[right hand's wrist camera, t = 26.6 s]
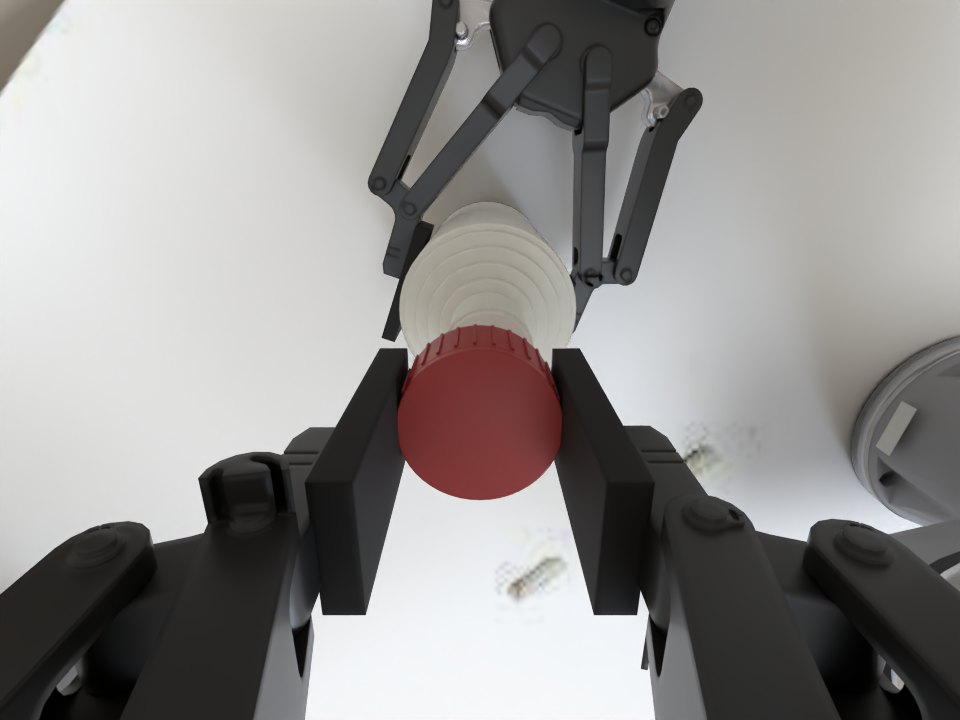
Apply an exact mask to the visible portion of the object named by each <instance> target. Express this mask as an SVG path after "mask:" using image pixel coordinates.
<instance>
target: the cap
mask: <svg viewBox="0 0 960 720" xmlns="http://www.w3.org/2000/svg"><path fill="white" fill-rule="evenodd" d="M400 394H402V397H401V400H400V403H399V406H398V410H397V417H398V434H399V446H400V449H401V452H402V454H403V456H404V458H405V459H406V461H407V463H408V464H409V466H410V467H411V468H412V470H413V471H414V472H415V473H416V474H417V475H418V476H419V477H420V478H421V479H422V480H423V481H425V482H426V483H428V484H429V485H430V486H432V487H434V488H435V489H437V490H439V491H441V492H443V493H446V494H448V495H451V496H455V497H458V498H463V499H469V500H490V499H496V498H501V497H505V496H508V495H511V494H514V493H516V492H519V491H521V490H522V489H524V488H526V487H528V486H529V485H531V484H532V483H533V482H535V481H536V480H537V479H538V478H539V477H541V476H542V475H543V474H544V473H545V471H546V470H547V469H548V468H549V467H550V465H551V464H552V462H553V460H554V459H555V457H556V455H557V453H558V450H559V448H560V444H561V429H562V408H561V405H560V397H559V394H558V391H557V389H556V386H555V382H554V379H553V376H552V373H551V371H550V368H549V365H548V363H547V361H546V362H545V361H544V360H543V358H542V357H541V355H540V352H539V350H538V349H537V348H536V349H535V348H534V347H533V346H532V345H531V344H530V343H529V342H527V339H526V338H525V337H524V338H522V337H520V336H519V335H517V334H515V333H513V332H512V331H511V330H509V329H508V330H505V329H502V328H499V327H495V326H494V325H491V326H486V325H477V324H474V326H466V327H461V328H460V327H456V329H454V330H451V331H449V332H447V333H445V334H443V333H442V334H440V336H439V337H438V338H436V339H435V340H433V341H432V342H431V343H429V342H428V343H427V344H426V347H425V349H424V350H423V351H422V352H421V353H420V355H418V354H417V355H416V357H415V360H414V363H413V366H412V369H410V368H409V370H408V373H407V376H406V379H405V381H404V384H403V387H402V390H401V392H400Z"/></svg>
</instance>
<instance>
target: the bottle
mask: <svg viewBox="0 0 960 720" xmlns="http://www.w3.org/2000/svg"><path fill="white" fill-rule="evenodd" d="M399 311H400V322H401V327H402V331H403V334H404V337H405V340H406V342H407V344H408V346H409V348H410V350H411V352H412V353H413V355H414V356H415V357H416V355H417V354H418V355H420V353H421V352H422V351H423V350H424V349H425V347H426V344H427V343H428V342H429V343H431V342H432V341H433V340H435V339H436V338H438V337H439V336H440V334H442V333H443V334H445V333H447V332H449V331H451V330H454V329H456V327H460V328H461V327H466V326H474V324H477V325H486V326H491V325H494V326H495V327H499V328H502V329H505V330H508V329H509V330H511V331H512V332H513V333H515V334H517V335H519V336H520V337H522V338H524V337H525V338H526V339H527V342H529V343H530V344H531V345H532V346H533V347H534V348H535V349H536V348H537V349H538V350H539V352H540V355H541V357H542V358H543V360H544V361H545V362H546V361H547V363H548V365H549V368H550V369H551V365H552V348H566V347H567V345H568V343H569V341H570V338H571V335H572V332H573V329H574V324H575V319H576V298H575V292H574V287H573V284H572V281H571V278H570V276H569V273H568V271H567V269H566V268H565V266H564V264H563V262H562V261H561V260H560V258H559V257H558V256H557V254H556V253H555V252H554V251H553V249H552V248H551V247H550V246H549V245H548V243H547V242H546V241H545V240H544V239H543V237H542V236H541V235H540V234H539V233H538V231H537V230H536V229H535V228H534V227H533V225H532V224H531V223H530V222H529V221H528V220H527V219H526V218H525V216H523V215H522V214H521V213H520V212H518V211H517V210H515V209H513V208H512V207H509V206H507V205H505V204H501V203H497V202H477V203H473V204H469V205H467V206H464V207H462V208H460V209H459V210H457V211H455V212H454V213H453V214H452V215H450V216H449V217H448V218H447V219H446V220H445V221H444V223H443V224H442V225H441V227H440V228H439V229H438V230H437V232H436V233H435V234H434V236H433V237H432V238H431V240H430V241H429V242H428V244H427V245H426V246H425V247H424V249H423V250H422V251H421V253H420V254H419V255H418V257H417V258H416V259H415V261H414V262H413V264H412V265H411V267H410V269H409V271H408V273H407V275H406V277H405V280H404V283H403V286H402V291H401V295H400V306H399Z"/></svg>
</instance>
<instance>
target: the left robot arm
mask: <svg viewBox="0 0 960 720" xmlns="http://www.w3.org/2000/svg"><path fill="white" fill-rule="evenodd" d="M674 1H675V0H493V1H490V0H433V1H432V12H431V22H430V33H429V41H428V43H427V45H426V47H425V50H424V52H423V54H422V57H421V59H420V61H419V64H418V66H417V68H416V70H415V73H414V75H413V77H412V80H411V82H410V84H409V87H408V89H407V91H406V94H405V96H404V98H403V100H402V103H401V105H400V107H399V110H398V112H397V114H396V117H395V119H394V121H393V123H392V126H391V128H390V130H389V133H388V135H387V137H386V140H385V142H384V144H383V146H382V149H381V151H380V153H379V156H378V158H377V160H376V163H375V165H374V167H373V169H372V172H371V174H370V176H369V179H368V187H369V189H370V191H371V192H372V193H373V194H374V195H377V196H379V197H380V198H381V199H383V200H384V201H385V202H386V203H388V204H389V205H390V206H391V207H392V209H393V210H394V213H395V223H394V227H393V230H392V233H391V237H390V240H389V244H388V247H387V251H386V254H385V258H384V261H383V271H384V274H387V275H390V276H393V277H395V278H398V279H399V282H398V286H397V289H396V292H395V295H394V299H393V302H392V305H391V309H390V312H389V315H388V318H387V322H386V325H385V328H384V332H383V335H382V338H384V339H387V340H390V341H393V342H395V340H396V338H397V336H398V334H399V332H400V330H401V329H402V327H401V322H400V311H399V306H400V295H401V291H402V286H403V283H404V280H405V277H406V275H407V273H408V271H409V269H410V267H411V265H412V264H413V262H414V261H415V259H416V258H417V257H418V255H419V254H420V253H421V251H422V250H423V249H424V247H425V246H426V245H427V244H428V242H429V241H430V237H431V234H432V231H433V228H434V225H433V224H430V223H427V222H425V221H422V218H423V214H424V213H425V211H426V210H427V209H428V208H429V206H430V205H431V204H432V203H433V202H434V200H435V199H436V198H437V197H438V196H439V194H440V193H441V192H442V191H443V190H444V188H445V187H446V186H447V185H448V184H449V182H450V181H451V180H452V179H453V178H454V176H455V175H456V174H457V173H458V171H459V170H460V169H461V168H462V167H463V165H464V164H465V163H466V162H467V161H468V159H469V158H470V157H471V156H472V155H473V153H474V152H475V151H476V150H477V149H478V147H479V146H480V145H481V144H482V143H483V141H484V140H485V139H486V138H487V137H488V135H489V134H490V133H491V132H492V131H493V129H494V128H495V127H496V126H497V125H498V123H499V122H500V121H501V120H502V119H503V118H504V117H505V115H506V114H507V113H508V112H509V111H510V109H511V108H512V107H513V106H515V107H516V110H518V111H521V112H523V113H526V114H528V115H536V116H545V117H546V118H548V119H549V120H550V121H552V122H553V123H554V124H555V125H557V126H559V127H561V128H564V129H566V130H569V131H572V130H573V152H574V182H573V250H572V272H571V274H570V275H569V276H570V278H571V281H572V284H573V287H574V292H575V298H576V319H575V324H574V329H573V332H574V331H575V330H576V327H577V325H578V323H579V321H580V318H581V316H582V314H583V311H584V309H585V307H586V305H587V302H588V300H589V298H590V296H591V293H592V292H593V290H594V289H595V288H598V287H599V286H601V285H602V284H621V285H630V284H632V283H633V282H634V281H635V279H636V277H637V274H638V271H639V268H640V265H641V261H642V258H643V255H644V251H645V248H646V245H647V242H648V238H649V235H650V232H651V228H652V225H653V222H654V219H655V215H656V212H657V209H658V205H659V202H660V199H661V195H662V192H663V189H664V186H665V182H666V179H667V176H668V172H669V169H670V166H671V163H672V159H673V156H674V153H675V149H676V146H677V143H678V140H679V139H680V137H681V136H682V134H683V133H684V131H685V130H686V129H687V127H688V126H689V124H690V123H691V121H692V120H693V118H694V117H695V115H696V114H697V112H698V111H699V109H700V108H701V105H702V101H703V97H702V94H701V92H700V91H699V90H698V89H696V88H688V89H685V90H684V89H682V88H680V87H679V86H678V85H676V84H675V83H674V82H672V81H671V80H669V79H668V78H667V77H665V76H664V75H663V74H661V73H660V72H659V71H657V68H658V43H659V38H660V35H661V32H662V30H663V28H664V25H665V23H666V20H667V18H668V15H669V13H670V11H671V8H672V6H673V3H674ZM483 30H490V34H491V38H492V42H493V46H494V50H495V54H496V58H497V62H498V66H499V70H500V74H501V76H500V77H499V78H498V80H497V81H496V82H495V83H494V85H493V86H492V87H491V88H490V89H489V91H488V92H487V93H486V95H485V96H484V98H483V99H482V101H481V102H480V103H479V104H478V106H477V107H476V108H475V109H474V111H473V112H472V113H471V114H470V116H469V117H468V118H467V119H466V121H465V122H464V123H463V124H462V126H461V127H460V128H459V129H458V130H457V132H456V133H455V134H454V135H453V137H452V138H451V139H450V140H449V142H448V143H447V144H446V145H445V147H444V148H443V149H442V150H441V151H440V153H439V154H438V155H437V156H436V158H435V159H434V160H433V161H432V163H431V164H430V165H429V166H428V168H427V169H426V170H425V171H424V173H423V174H422V175H421V176H420V177H419V179H418V180H417V181H416V182H415V184H414V185H413V186H412V187H411V189H410V188H409V187H408V186H407V185H406V184H404V183H403V182H402V181H401V180H402V178H403V176H404V174H405V171H406V169H407V167H408V165H409V163H410V160H411V158H412V156H413V154H414V152H415V149H416V147H417V145H418V143H419V141H420V139H421V136H422V134H423V132H424V130H425V128H426V125H427V123H428V121H429V119H430V117H431V114H432V112H433V110H434V108H435V106H436V103H437V101H438V99H439V97H440V95H441V93H442V90H443V88H444V86H445V84H446V82H447V79H448V77H449V75H450V73H451V70H452V68H453V65H454V62H455V58H456V55H457V50H459V51H465V50H467V49H469V48H470V47H471V46H472V44H473V42H474V39H475V37H476V35H477V34H478V33H479V32H480V31H483ZM639 92H640V93H641V94H642V95H643V97H644V100H645V106H644V109H643V112H642V121H643V123H644V124H645V125H646V126H647V128H646V130H645V132H644V134H643V136H642V138H641V141H640V144H639V147H638V150H637V154H636V157H635V161H634V164H633V168H632V171H631V175H630V179H629V182H628V186H627V189H626V193H625V196H624V200H623V204H622V207H621V211H620V214H619V218H618V221H617V225H616V229H615V232H614V236H613V239H612V243H611V247H610V250H609V254H608V257H607V258H602V254H603V225H604V196H605V168H606V150H607V147H608V142H609V119H610V113H611V112H613V111H614V110H616V109H617V108H618V107H620V106H621V105H623V104H624V103H625V102H627V101H628V100H630V99H631V98H632V97H634V96H635V95H637V94H638V93H639ZM573 332H572V333H573ZM851 455H852V462H853V467H854V470H855V473H856V475H857V477H858V479H859V480H860V482H861V484H862V485H863V486H864V487H865V489H866V490H867V491H868V492H869V493H870V494H871V495H873V496H874V497H875V498H876V499H877V500H878V501H880V502H881V503H882V504H883V505H884V506H886V507H887V508H888V509H889V510H891V511H892V512H893V513H895V514H897V515H898V516H900V517H902V518H904V519H907V520H910V521H912V522H914V523H917V524H919V525H922V526H924V527H919V528H915V529H910V530H906V531H902V532H897V533H893V534H888V535H890V536H891V537H893V538H894V539H896V540H897V541H899V542H900V543H902V544H903V545H905V546H906V547H907V548H909V549H910V550H911V551H912V552H913V553H915V554H916V555H917V556H918V557H919V558H921V559H922V560H923V561H924V562H925V563H927V564H928V565H929V566H930V567H931V568H932V569H934V570H935V571H936V572H937V573H938V574H940V575H941V576H942V577H943V578H944V579H946V580H947V581H948V582H949V583H950V584H952V585H953V586H954V587H955V588H956V589H958V590H959V591H960V337H957V338H954V339H950V340H947V341H944V342H941V343H939V344H936V345H934V346H932V347H929V348H927V349H926V350H924V351H922V352H920V353H918V354H916V355H915V356H913V357H912V358H910V359H908V360H907V361H906V362H904V363H903V364H901V365H900V366H899V367H898V368H896V369H895V370H894V371H893V372H892V373H890V374H889V375H888V376H887V377H886V378H885V379H884V380H883V381H882V382H881V384H880V385H879V386H878V387H877V388H876V389H875V390H874V392H873V393H872V395H871V396H870V397H869V399H868V400H867V402H866V403H865V405H864V407H863V409H862V411H861V413H860V415H859V417H858V419H857V422H856V425H855V428H854V432H853V437H852V444H851ZM883 673H884V674H885V675H886V676H887V678H888V679H889V680H890V681H891V682H892V683H893V684H894V685H895V686H896V687H897V688H898V689H899V690H901V689H902V688H903V685H904V682H903V681H902V680H901V679H900V678H899V677H898V675H897V674H896V673H895V672H894V671H893V670H892V669H891V667H890V666H889V665H888V664H887V663H886V664H885V667H884V669H883Z"/></svg>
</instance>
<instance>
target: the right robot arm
mask: <svg viewBox="0 0 960 720" xmlns="http://www.w3.org/2000/svg"><path fill="white" fill-rule="evenodd" d="M407 373H408V352H407V348H380V349H379V351H378V353H377V355H376V357H375V358H374V360H373V362H372V364H371V365H370V367H369V369H368V371H367V373H366V374H365V376H364V378H363V380H362V381H361V383H360V385H359V387H358V388H357V390H356V392H355V394H354V396H353V397H352V399H351V401H350V403H349V404H348V406H347V408H346V410H345V412H344V413H343V415H342V417H341V419H340V420H339V422H338V424H337V426H336V427H310V428H309V429H307V430H305V431H304V432H302V433H301V434H299V435H298V436H296V437H295V438H293V439H292V441H291V442H290V444H289V445H288V447H287V448H286V450H285V451H284V454H282V455H279V454H275V453H271V452H251V453H245V454H240V455H235V456H233V457H230V458H227V459H224V460H222V461H219V462H218V463H216V464H214V465H213V466H211V467H209V468H208V469H206V470H205V471H204V473H203V474H202V475H201V476H200V477H199V478H198V479H199V484H200V489H201V493H202V498H203V502H204V507H205V511H206V516H207V520H208V525H207V527H206V529H205V532H204V533H202V534H198V535H195V536H191V537H186V538H181V539H176V540H172V541H167V542H162V543H157V544H153V541H152V538H151V534H150V530H149V529H148V528H147V527H145V526H144V525H143V524H141V523H135V522H130V521H126V522H116V523H108V524H103V525H102V526H96V527H93V528H90V529H88V530H86V531H84V532H82V533H80V534H78V535H75V536H73V537H71V538H70V539H68V540H67V541H65V542H64V543H62V544H61V545H59V546H58V547H56V548H55V549H54V550H52V551H51V552H50V553H49V554H48V555H46V556H45V557H44V558H43V559H42V560H41V561H39V562H38V563H37V564H36V565H35V566H33V567H32V568H31V569H30V570H29V571H28V572H26V573H25V574H24V575H23V576H22V577H20V578H19V579H18V580H17V581H16V582H15V583H13V584H12V585H11V586H10V587H9V588H7V589H6V590H5V591H4V592H3V593H2V594H0V720H305V712H306V704H307V695H308V686H309V677H310V668H311V660H312V651H313V642H314V631H313V624H312V617H311V612H312V610H313V607H314V604H315V602H316V599H317V597H318V594H319V592H320V599H321V607H322V614H323V615H366V612H367V608H368V604H369V600H370V596H371V592H372V588H373V584H374V581H375V577H376V573H377V569H378V565H379V561H380V557H381V553H382V549H383V546H384V542H385V538H386V534H387V530H388V526H389V522H390V518H391V514H392V511H393V507H394V503H395V499H396V495H397V491H398V487H399V483H400V479H401V476H402V472H403V468H404V464H405V460H406V459H405V458H404V456H403V454H402V452H401V449H400V446H399V434H398V417H397V410H398V406H399V403H400V400H401V397H402V394H400V392H401V390H402V387H403V384H404V381H405V379H406V376H407ZM551 373H552V376H553V379H554V382H555V386H556V389H557V391H558V394H559V397H560V405H561V408H562V429H561V444H560V448H559V450H558V453H557V455H556V457H555V459H554V461H555V465H556V469H557V473H558V477H559V481H560V485H561V489H562V492H563V496H564V500H565V504H566V508H567V512H568V516H569V520H570V524H571V527H572V531H573V535H574V539H575V543H576V547H577V551H578V555H579V559H580V562H581V566H582V570H583V574H584V578H585V582H586V586H587V590H588V594H589V597H590V601H591V605H592V609H593V613H594V615H637V612H638V604H639V597H640V590H641V592H642V595H643V598H644V600H645V603H646V605H647V608H648V611H649V617H648V624H647V630H646V637H645V644H644V651H643V658H642V665H641V669H644V670H648V666H649V667H650V676H651V685H652V694H653V702H654V711H655V720H960V591H959V590H958V589H956V588H955V587H954V586H953V585H952V584H950V583H949V582H948V581H947V580H946V579H944V578H943V577H942V576H941V575H940V574H938V573H937V572H936V571H935V570H934V569H932V568H931V567H930V566H929V565H928V564H927V563H925V562H924V561H923V560H922V559H921V558H919V557H918V556H917V555H916V554H915V553H913V552H912V551H911V550H910V549H909V548H907V547H906V546H905V545H903V544H902V543H900V542H899V541H897V540H896V539H894V538H893V537H891V536H890V535H888V534H886V533H884V532H881V531H879V530H877V529H875V528H873V527H871V526H869V525H866V524H863V523H861V524H860V523H859V522H854V521H849V520H838V519H829V520H823V521H818V522H817V523H816V524H814V525H813V526H812V527H811V529H810V532H809V536H808V540H807V542H804V541H799V540H795V539H790V538H785V537H780V536H775V535H770V534H766V533H762V532H759V531H755V528H754V526H753V524H752V522H751V521H750V520H749V518H748V517H747V516H746V514H745V513H744V512H742V511H741V510H740V509H738V508H737V507H735V506H734V505H733V504H731V503H728V502H726V501H724V500H721V499H719V498H717V497H713V496H708V495H707V493H706V492H705V490H704V489H703V488H702V486H701V485H700V483H699V482H698V481H697V479H696V478H695V476H694V475H693V473H692V472H691V471H690V469H689V468H688V466H687V465H686V463H684V462H683V459H682V458H681V456H680V455H679V454H678V452H676V449H675V448H674V446H673V445H672V444H671V442H670V441H669V439H668V438H667V437H666V436H665V435H663V434H662V433H660V432H658V431H657V430H655V429H654V428H652V427H651V426H623V425H622V423H621V421H620V419H619V417H618V416H617V414H616V412H615V410H614V409H613V407H612V405H611V403H610V402H609V400H608V398H607V396H606V394H605V393H604V391H603V389H602V387H601V386H600V384H599V382H598V380H597V378H596V377H595V375H594V373H593V371H592V370H591V368H590V366H589V364H588V362H587V361H586V359H585V357H584V355H583V354H582V352H581V350H580V348H552V365H551ZM886 663H887V664H888V665H889V666H890V667H891V669H892V670H893V671H894V672H895V673H896V674H897V675H898V677H899V678H900V679H901V680H902V681H903V682H904V685H903V688H902V689H901V690H899V689H898V688H897V687H896V686H895V685H894V684H893V683H892V682H891V681H890V680H889V679H888V678H887V676H886V675H885V674H884V673H883V669H884V667H885V664H886Z"/></svg>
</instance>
